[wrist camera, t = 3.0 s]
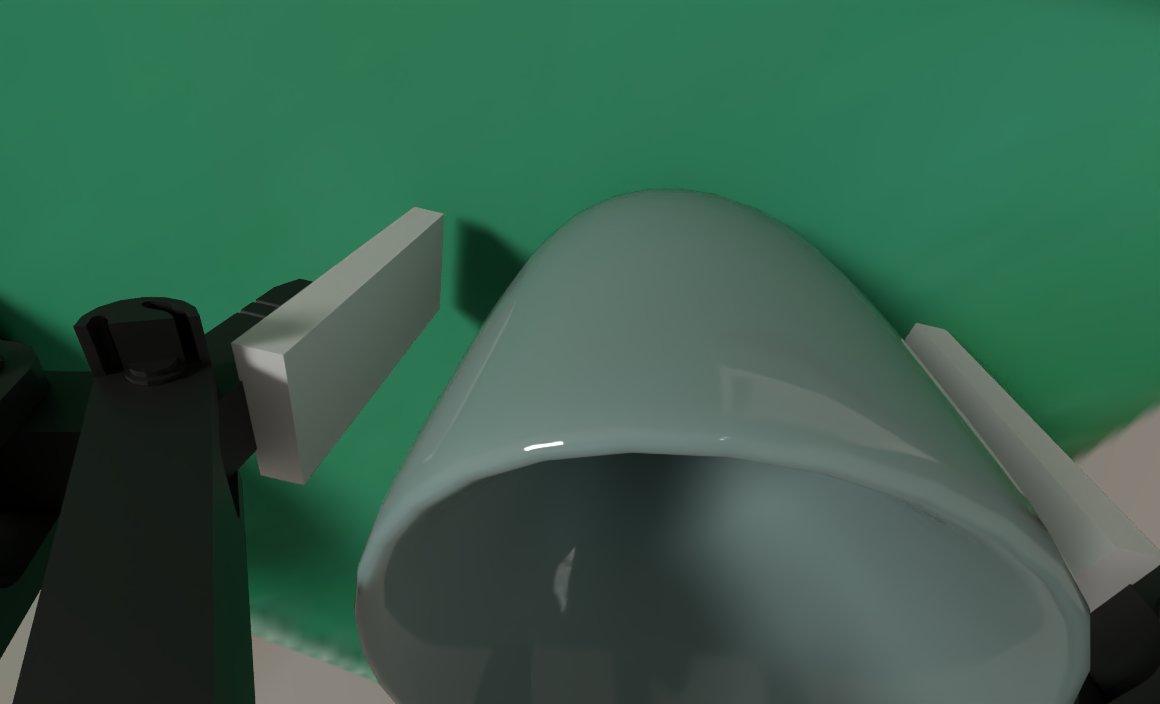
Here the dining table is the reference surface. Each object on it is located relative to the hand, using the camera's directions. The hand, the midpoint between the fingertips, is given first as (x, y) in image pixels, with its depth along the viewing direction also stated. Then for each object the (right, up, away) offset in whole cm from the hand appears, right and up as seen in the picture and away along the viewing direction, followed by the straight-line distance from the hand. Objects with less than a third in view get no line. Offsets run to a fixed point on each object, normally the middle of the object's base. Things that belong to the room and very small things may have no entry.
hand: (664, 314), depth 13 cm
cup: (0, +1, +1) cm, 1 cm away
